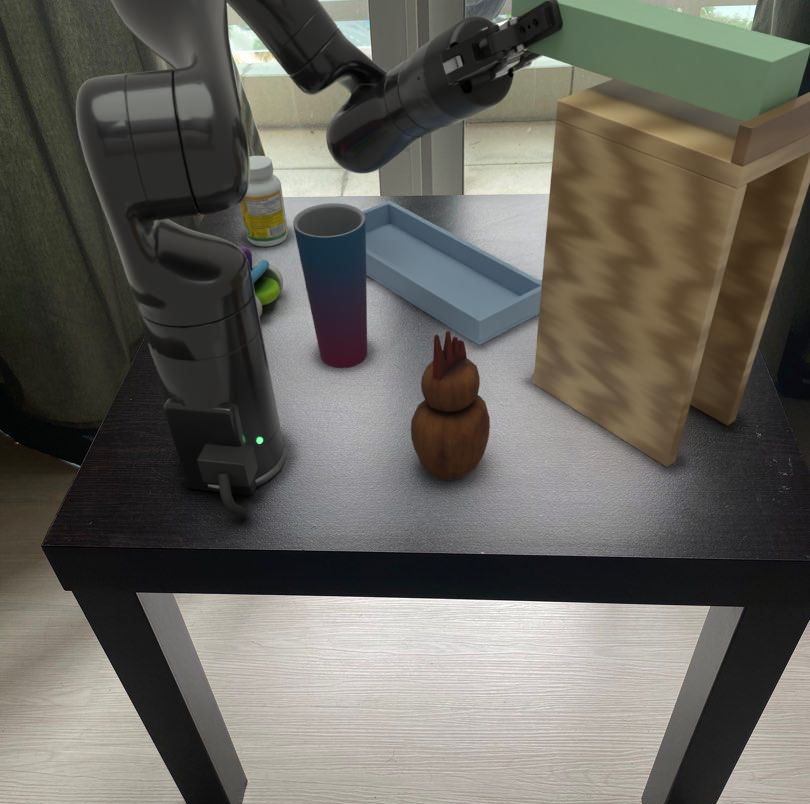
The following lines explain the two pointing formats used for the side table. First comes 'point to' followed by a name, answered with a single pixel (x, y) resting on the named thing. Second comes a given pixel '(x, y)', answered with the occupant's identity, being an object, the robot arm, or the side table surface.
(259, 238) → the supplement bottle
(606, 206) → the stand
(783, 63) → the long sage green bar
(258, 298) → the multicolored plastic toy
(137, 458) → the side table surface
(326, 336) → the cup
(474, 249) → the tray
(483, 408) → the wooden figurine
